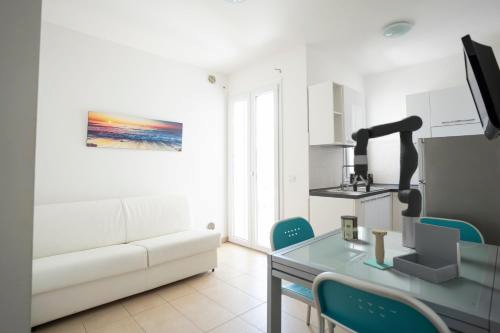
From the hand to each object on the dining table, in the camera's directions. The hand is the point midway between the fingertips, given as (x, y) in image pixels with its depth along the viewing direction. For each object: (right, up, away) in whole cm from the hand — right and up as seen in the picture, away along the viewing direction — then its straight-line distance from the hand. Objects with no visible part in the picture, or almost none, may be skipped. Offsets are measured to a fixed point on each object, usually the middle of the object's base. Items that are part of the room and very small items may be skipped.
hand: (361, 191), depth 149 cm
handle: (-4, -31, -28) cm, 42 cm away
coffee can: (0, -32, +19) cm, 38 cm away
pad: (-4, -31, -28) cm, 42 cm away
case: (+11, -31, -38) cm, 50 cm away
